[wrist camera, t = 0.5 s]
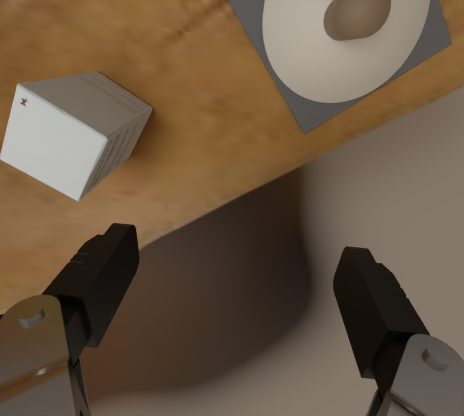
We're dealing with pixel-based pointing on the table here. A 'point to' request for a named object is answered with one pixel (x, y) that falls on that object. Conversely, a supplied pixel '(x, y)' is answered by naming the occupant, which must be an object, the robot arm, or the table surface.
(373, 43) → the lid
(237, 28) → the table surface
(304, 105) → the mat
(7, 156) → the supplement box
